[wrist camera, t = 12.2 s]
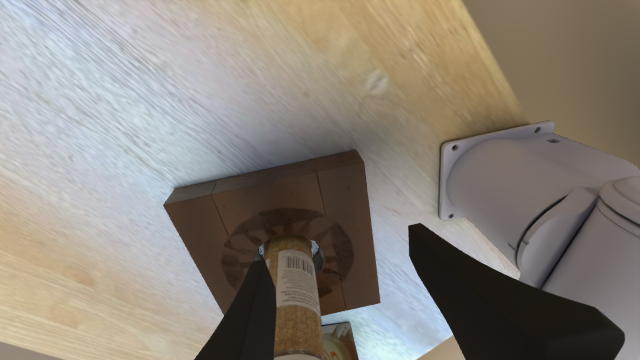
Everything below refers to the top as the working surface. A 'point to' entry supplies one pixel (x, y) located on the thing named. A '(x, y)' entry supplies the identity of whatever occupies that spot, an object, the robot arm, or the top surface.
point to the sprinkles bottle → (295, 298)
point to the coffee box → (339, 342)
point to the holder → (283, 226)
